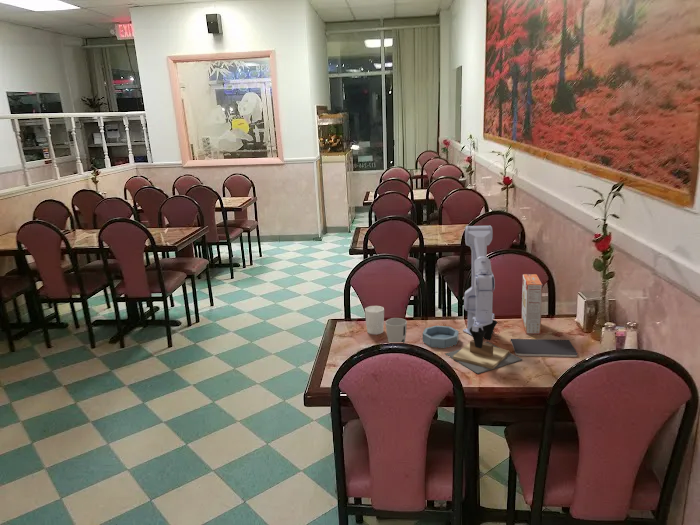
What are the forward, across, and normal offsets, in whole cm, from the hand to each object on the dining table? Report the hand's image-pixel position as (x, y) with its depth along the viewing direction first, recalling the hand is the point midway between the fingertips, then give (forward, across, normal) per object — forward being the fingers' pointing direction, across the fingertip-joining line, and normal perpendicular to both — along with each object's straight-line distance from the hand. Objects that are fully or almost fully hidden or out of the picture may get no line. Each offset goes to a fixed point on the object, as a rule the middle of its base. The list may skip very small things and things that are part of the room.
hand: (483, 343), depth 180 cm
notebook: (+6, -18, +16) cm, 25 cm away
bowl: (+5, -5, -20) cm, 21 cm away
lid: (+5, 0, -1) cm, 5 cm away
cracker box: (+6, -35, +5) cm, 36 cm away
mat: (+5, 0, 0) cm, 5 cm away
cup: (+6, +8, -32) cm, 33 cm away
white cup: (+6, +1, -47) cm, 47 cm away
